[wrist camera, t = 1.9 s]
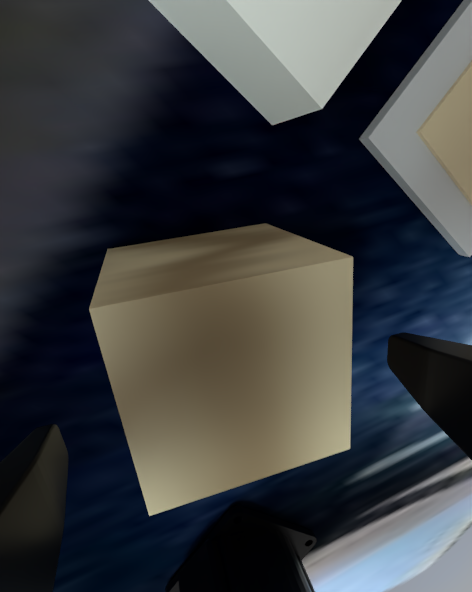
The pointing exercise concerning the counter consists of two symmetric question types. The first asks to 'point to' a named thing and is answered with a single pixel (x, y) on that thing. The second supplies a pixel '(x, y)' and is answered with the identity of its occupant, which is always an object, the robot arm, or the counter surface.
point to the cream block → (280, 45)
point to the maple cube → (226, 357)
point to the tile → (433, 132)
